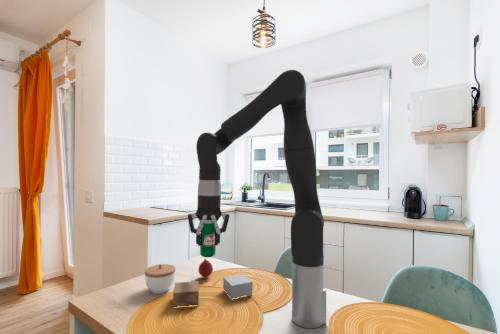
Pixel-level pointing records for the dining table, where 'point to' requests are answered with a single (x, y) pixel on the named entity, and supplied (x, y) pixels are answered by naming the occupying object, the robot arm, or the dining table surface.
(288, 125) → the robot arm
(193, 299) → the walnut block
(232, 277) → the grey block
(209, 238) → the soda can
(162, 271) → the lidded jar
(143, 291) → the dining table surface
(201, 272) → the onion
